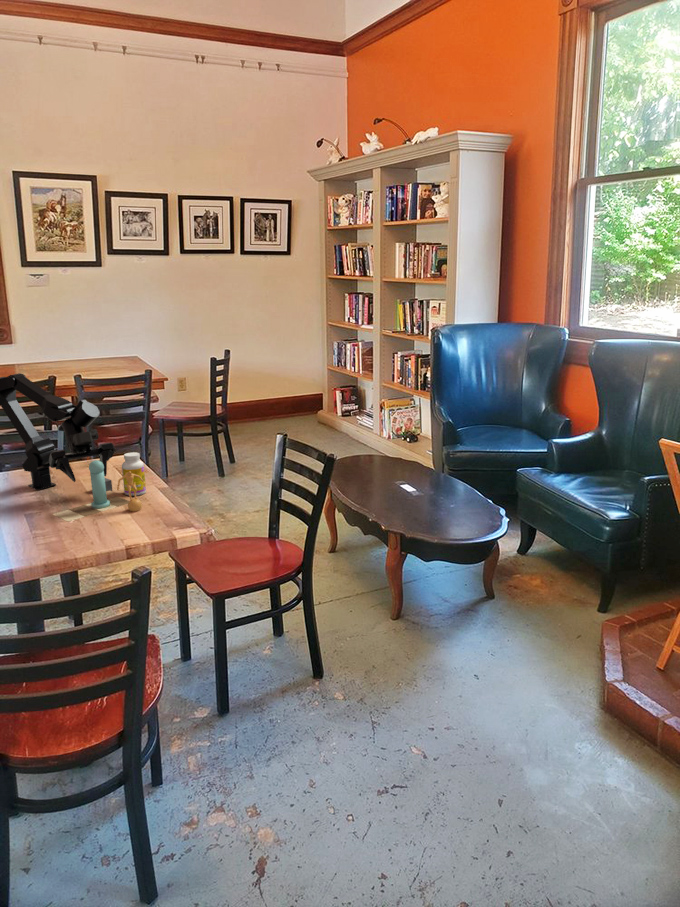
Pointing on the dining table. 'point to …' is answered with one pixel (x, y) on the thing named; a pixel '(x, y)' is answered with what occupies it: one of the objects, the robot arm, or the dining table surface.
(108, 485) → the plain grey cube
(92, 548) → the dining table surface
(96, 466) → the pawn
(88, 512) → the board
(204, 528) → the dining table surface
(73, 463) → the dining table surface
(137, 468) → the supplement bottle
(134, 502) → the figurine
